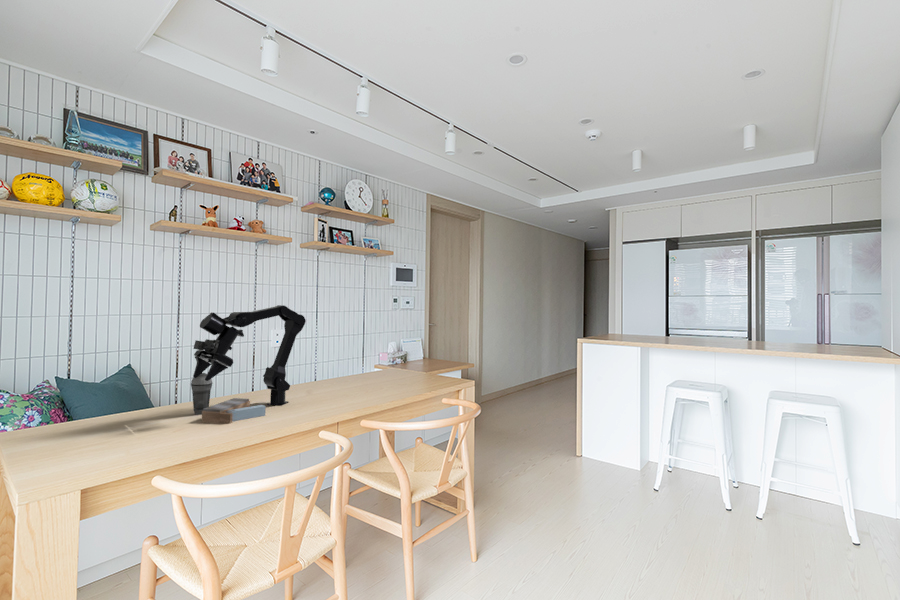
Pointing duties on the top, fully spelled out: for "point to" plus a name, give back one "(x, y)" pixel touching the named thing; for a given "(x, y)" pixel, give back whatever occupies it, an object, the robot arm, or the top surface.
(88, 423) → the top surface
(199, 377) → the beverage cup
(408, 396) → the top surface
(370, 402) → the top surface
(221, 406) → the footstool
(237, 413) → the bar
